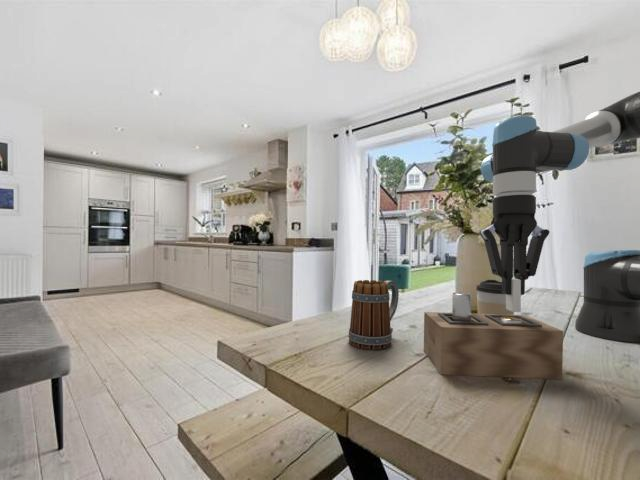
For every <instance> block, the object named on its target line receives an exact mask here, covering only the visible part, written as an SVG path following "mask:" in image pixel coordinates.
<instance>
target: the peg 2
mask: <svg viewBox="0 0 640 480" xmlns="http://www.w3.org/2000/svg"><path fill="white" fill-rule="evenodd" d="M501 321H502V322H504V323H522V320H521V319H519V318H515V317H501Z"/></svg>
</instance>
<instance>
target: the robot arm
mask: <svg viewBox="0 0 640 480" xmlns="http://www.w3.org/2000/svg"><path fill="white" fill-rule="evenodd" d="M635 139H640V91H637V92H636V93H633V94H630V95H627V96H625V97H624V98H622V99H619V100H618V101H616V102H614V103H612V104H610V105H608V106H606V107H604V108H602V109H600V110H598V111H594V112H593V113H590V114H589V115H587V116H586V117H585V118H584V120H581V121H578V122H576V123H573V124H570V125H568V126H564V127H563V128H560V129H558V130H553V131H543V130H538V125H537V119H536V118H534V116H531V115H518V116H513V117H508V118H504V119H503V120H501V121H499V122H498V123H496V124H495V125H494V129H493V135H492V144H491V146H492V154H490V155H488V156H486V157H485V158H484V159H483V160H482V162H481V164H480V173H481V176H482V178H483V179H485V181H487V182H489V183H491V184H492V195H494V196H495V197H493V199H492V216H493V217H492V220H491V222H490V225H489V226H488V227H485V229H480V230H479V235H480V237H481V238H482V240H483V241H484V246H485V250H486V253H487V257H488V262H489V266H490V270H491V274H493V275H495V276H497V277H500V278H501V282H502V292H503V294H506V309H507V310H510V311H512V312H514V313H521V312H522V311H521V308H522V307H521V305H522V303H521V302H522V301H521V299H522V295H523V296H524V295H525V293H526V290H525V289H526V286H525V285H526V280H528V279H529V278H530V277H534V276H536V273H537V270H538V266H539V263H540V258H541V254H542V251H543V247H544V244H545V240H546V239H547V237H548V236H549V235H550V229H548V228H547V229H546V228H545V229H544V228H542V227H540V226H539V225H538V221H537V219H536V216H535V214H536V212H537V197H536V196H535V195H534V194H535V193H536V192H537V174H541V173H544V172H545V173H546V172H550V171H559V172H562V171H571V170H575V169H577V168H579V167H580V166H582V165H583V164H584V163H585V162H586V160H587V159H588V156H589V155H590V149H591V148H592V149H593V148H603V147H606V146H609V145H612V144H616V143H621V142H626V141H631V140H635ZM496 235H497V237H498V238H499V245H500V251H499V247H498V242H497V239H496V238H495V236H496ZM530 235H531V238H530V240H529V237H530ZM527 247H528V248H527ZM583 263H584V264H583V265H584V266H583V268H582V269H583V304H582V305H581V308H580V310H579V312H578V316H577V317H576V319H575V321H574V322H575V325H574V326H575V327H574V328H575V329H576V331H578V332H581V333H583V334H586V335H589V336H593V337H596V338H602V339H604V340H605V339H606V340H612V341H617V342H627V343H628V342H629V343H640V249H622V250H604V251H594V252H593V251H592V252H589V253H587V254H586V255H585V256H584V262H583Z"/></svg>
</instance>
